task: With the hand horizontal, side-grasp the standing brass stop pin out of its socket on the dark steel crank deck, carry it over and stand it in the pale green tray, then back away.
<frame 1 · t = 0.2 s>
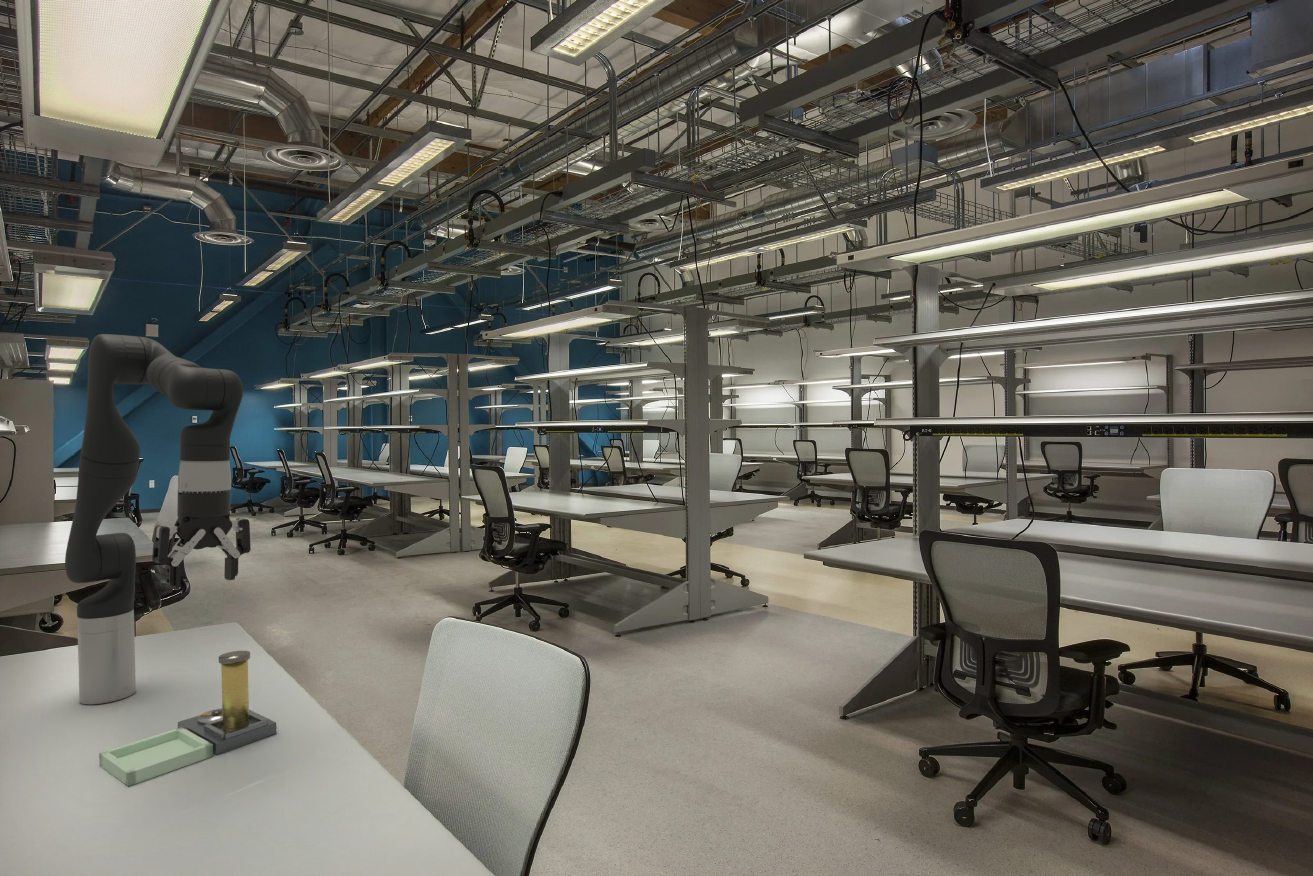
hand: (202, 583, 120), 29 cm above the table, tool pointing down, fingers open, 8 cm apart
tray: (156, 760, 118), on the table
crank deck: (227, 733, 128), on the table
stop pin: (236, 727, 126), point 2 cm above the table, touching crank deck
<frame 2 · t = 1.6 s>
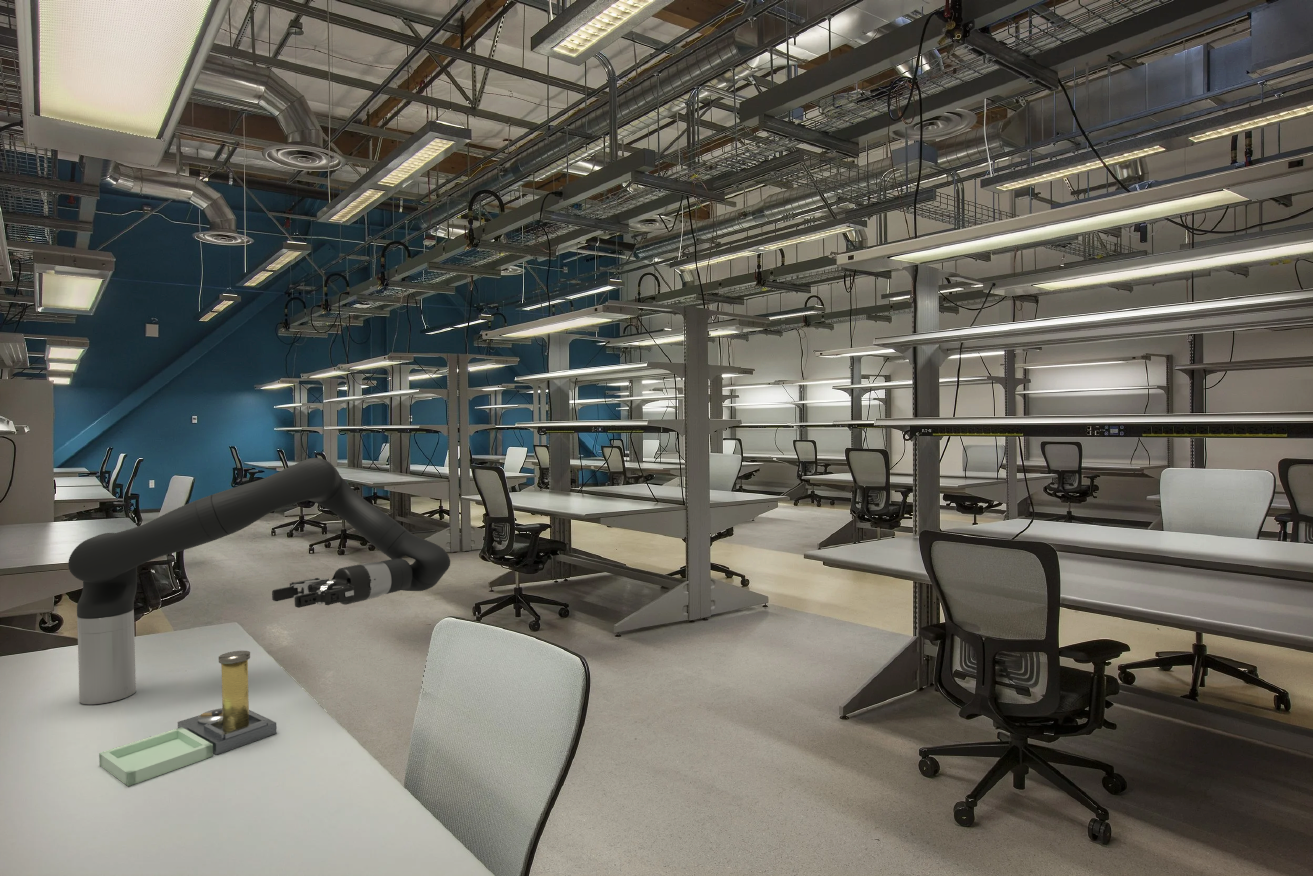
hand: (284, 599, 136), 22 cm above the table, tool horizontal, fingers open, 8 cm apart
nothing on the table moved.
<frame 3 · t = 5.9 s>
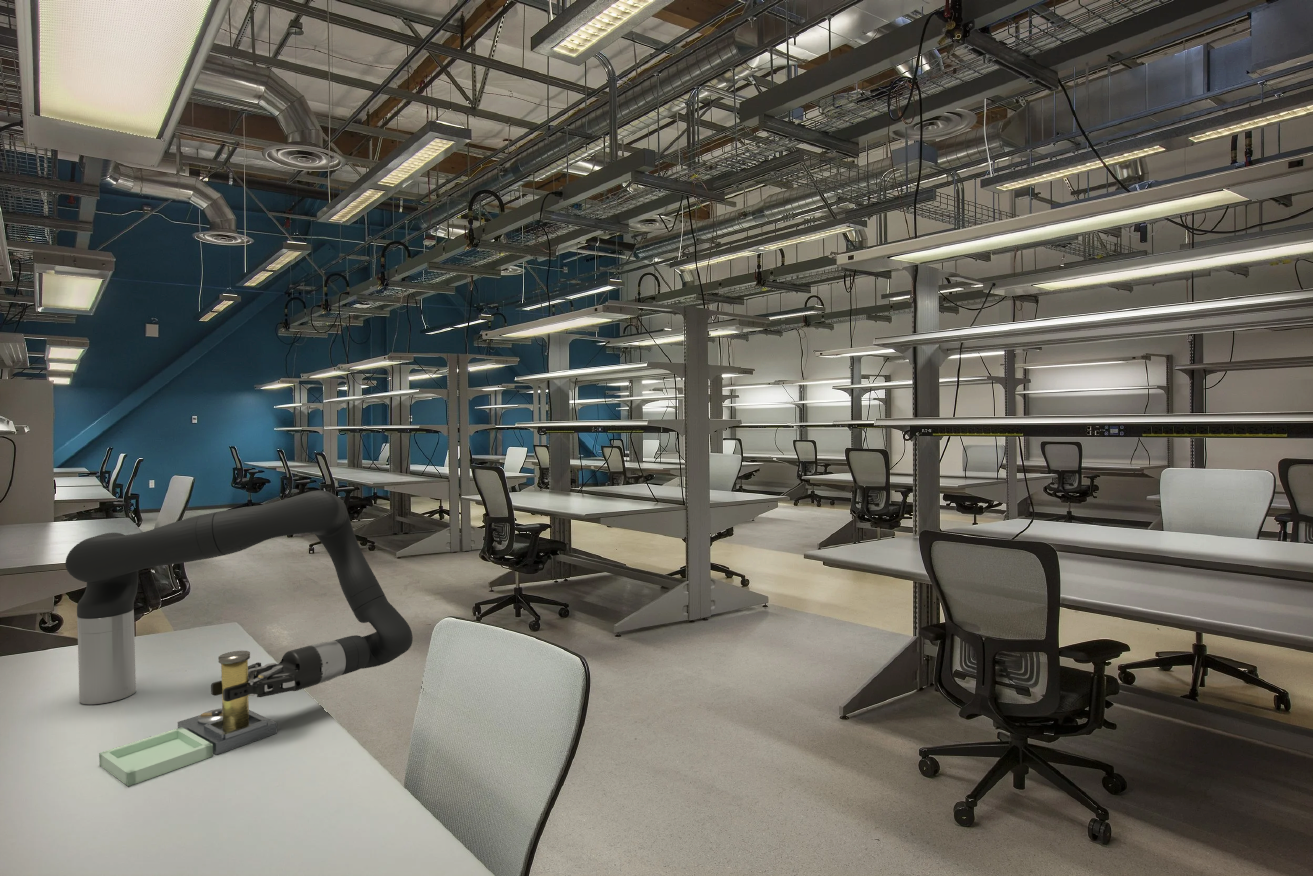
hand: (218, 692, 124), 9 cm above the table, tool horizontal, fingers closed on stop pin, 4 cm apart
stop pin: (236, 727, 126), point 2 cm above the table, touching crank deck, gripper
when the fingers open (9 cm above the table, at t = 10.3 s): stop pin drops 1 cm, resting on tray.
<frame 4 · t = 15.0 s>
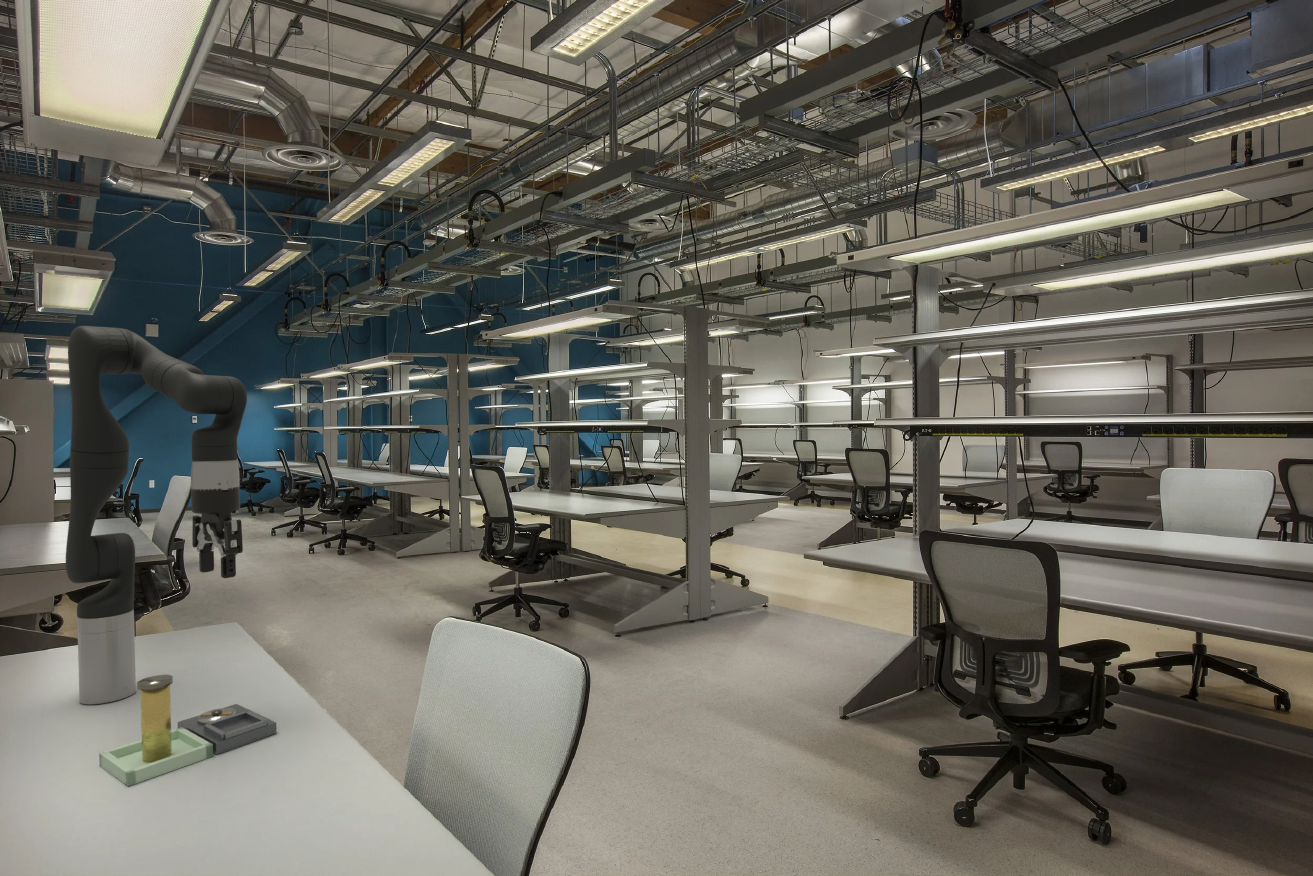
hand: (217, 574, 130), 28 cm above the table, tool pointing down, fingers open, 8 cm apart
stop pin: (157, 756, 118), point 1 cm above the table, touching tray
at the end: stop pin inside the target area on the tray (0.1 cm from its centre), point 0.6 cm above the tray's base; stop pin tilted 0°; the gripper is holding nothing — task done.
